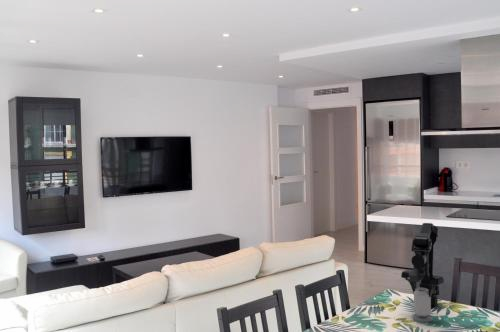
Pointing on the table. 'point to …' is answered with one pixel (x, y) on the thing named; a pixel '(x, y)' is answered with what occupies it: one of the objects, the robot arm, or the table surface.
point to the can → (422, 302)
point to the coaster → (422, 318)
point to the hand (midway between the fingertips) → (422, 295)
